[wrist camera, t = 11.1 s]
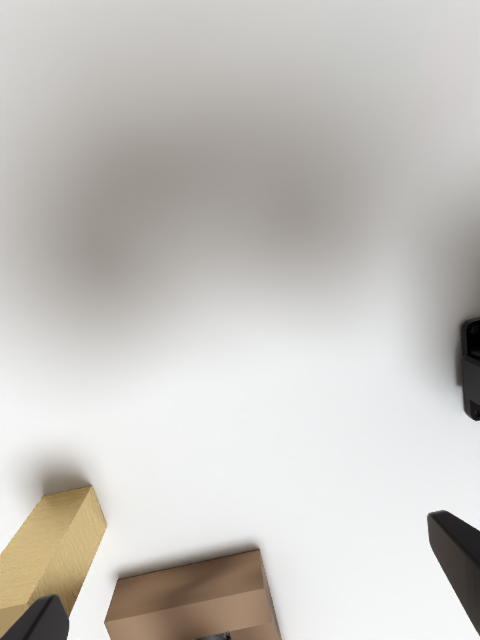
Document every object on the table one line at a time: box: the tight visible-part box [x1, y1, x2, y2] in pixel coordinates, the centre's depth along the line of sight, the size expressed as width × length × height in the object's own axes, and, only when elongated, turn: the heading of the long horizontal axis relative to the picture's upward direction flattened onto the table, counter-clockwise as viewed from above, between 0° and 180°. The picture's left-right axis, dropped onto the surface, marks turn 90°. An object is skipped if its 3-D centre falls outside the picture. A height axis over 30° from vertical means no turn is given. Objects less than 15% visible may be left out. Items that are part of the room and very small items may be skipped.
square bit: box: [0, 486, 107, 638], centre depth 18 cm, size 3×3×7 cm
